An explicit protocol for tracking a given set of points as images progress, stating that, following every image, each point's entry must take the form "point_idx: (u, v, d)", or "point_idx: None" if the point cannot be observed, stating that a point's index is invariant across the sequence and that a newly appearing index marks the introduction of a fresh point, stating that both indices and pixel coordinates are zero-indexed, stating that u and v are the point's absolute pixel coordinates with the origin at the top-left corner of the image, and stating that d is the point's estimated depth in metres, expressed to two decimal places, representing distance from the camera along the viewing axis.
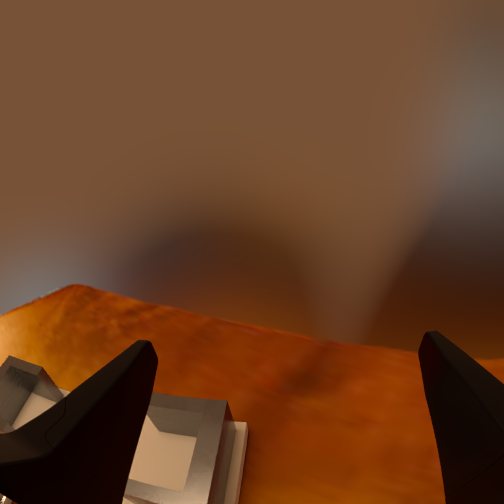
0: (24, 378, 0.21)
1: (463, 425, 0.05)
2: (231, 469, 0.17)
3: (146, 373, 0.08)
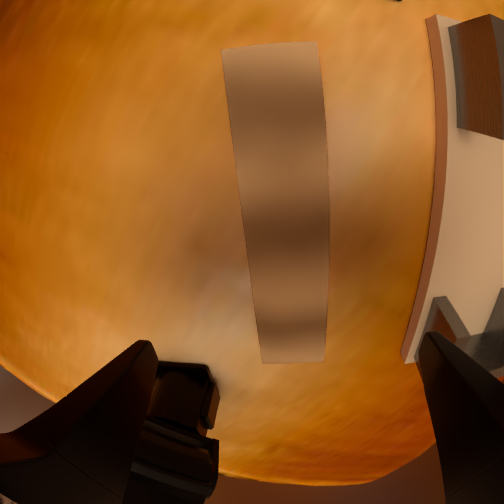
0: None
1: (463, 426, 0.05)
2: None
3: (146, 373, 0.08)
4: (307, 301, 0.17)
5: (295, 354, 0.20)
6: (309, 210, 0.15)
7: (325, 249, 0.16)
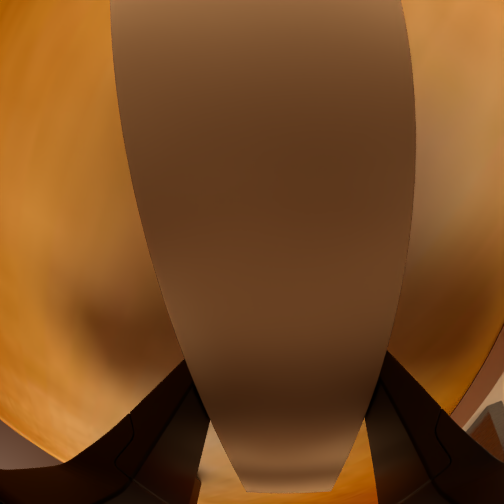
0: None
1: (390, 444, 0.05)
2: None
3: None
4: (315, 459, 0.09)
5: (291, 489, 0.11)
6: (340, 367, 0.06)
7: (358, 414, 0.07)
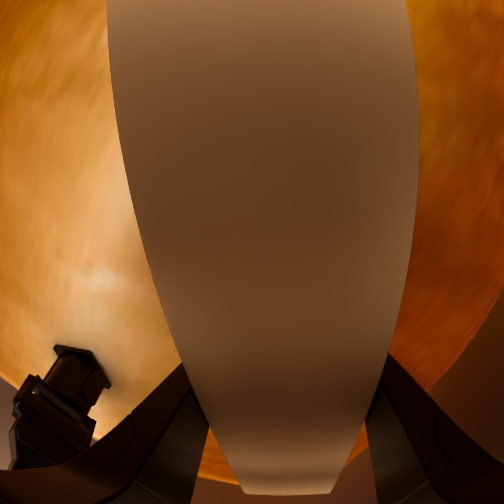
0: None
1: (389, 444, 0.05)
2: None
3: None
4: (314, 462, 0.08)
5: (290, 491, 0.11)
6: (340, 370, 0.06)
7: (358, 417, 0.07)
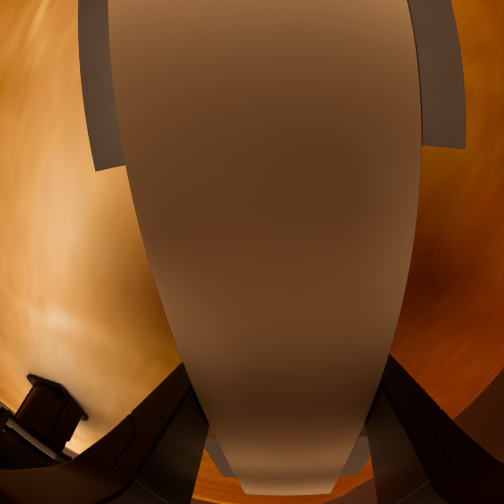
0: None
1: (389, 444, 0.05)
2: None
3: None
4: (314, 462, 0.08)
5: (290, 491, 0.11)
6: (342, 371, 0.06)
7: (359, 418, 0.07)
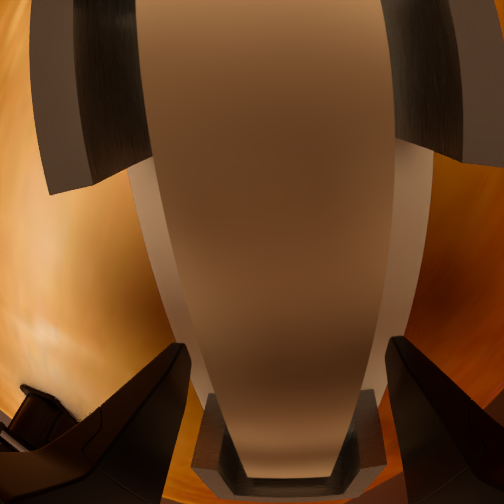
0: None
1: (423, 437, 0.05)
2: None
3: (182, 377, 0.08)
4: (314, 438, 0.09)
5: (291, 473, 0.12)
6: (336, 337, 0.07)
7: (354, 388, 0.08)
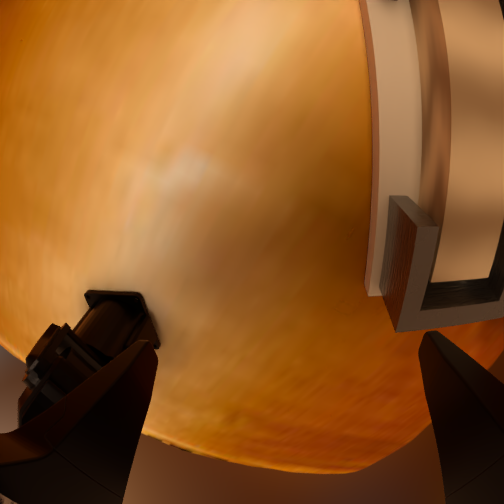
0: None
1: (463, 425, 0.05)
2: None
3: (146, 373, 0.08)
4: (494, 187, 0.11)
5: (467, 266, 0.13)
6: (500, 80, 0.08)
7: None
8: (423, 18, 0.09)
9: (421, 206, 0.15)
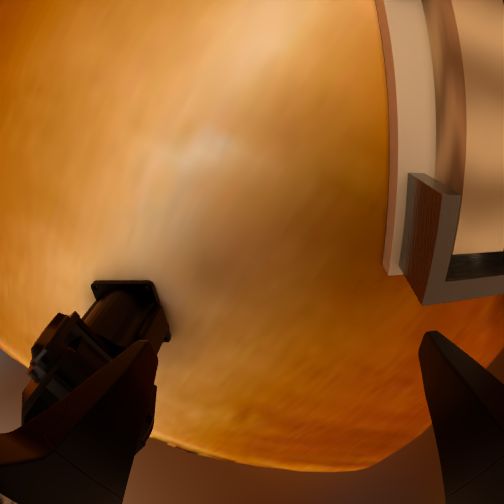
0: None
1: (464, 425, 0.05)
2: None
3: (146, 373, 0.08)
4: None
5: (484, 238, 0.13)
6: None
7: None
8: (434, 8, 0.09)
9: None
